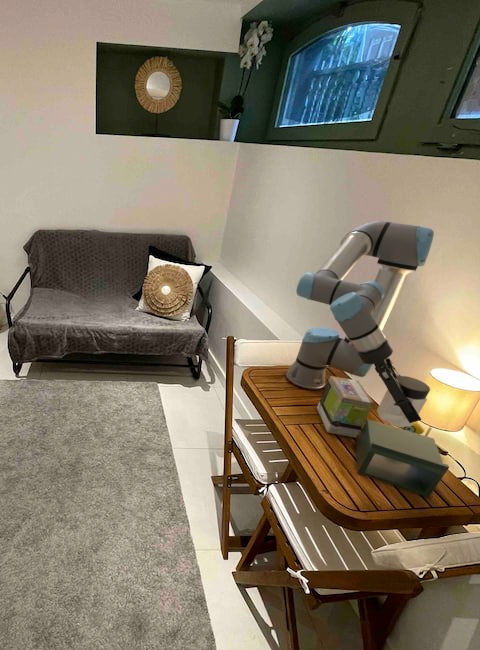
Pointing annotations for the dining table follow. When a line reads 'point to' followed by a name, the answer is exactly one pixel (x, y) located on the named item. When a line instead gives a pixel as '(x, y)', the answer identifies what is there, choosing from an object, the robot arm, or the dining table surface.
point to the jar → (413, 391)
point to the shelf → (396, 467)
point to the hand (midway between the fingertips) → (412, 411)
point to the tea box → (344, 406)
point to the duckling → (414, 428)
